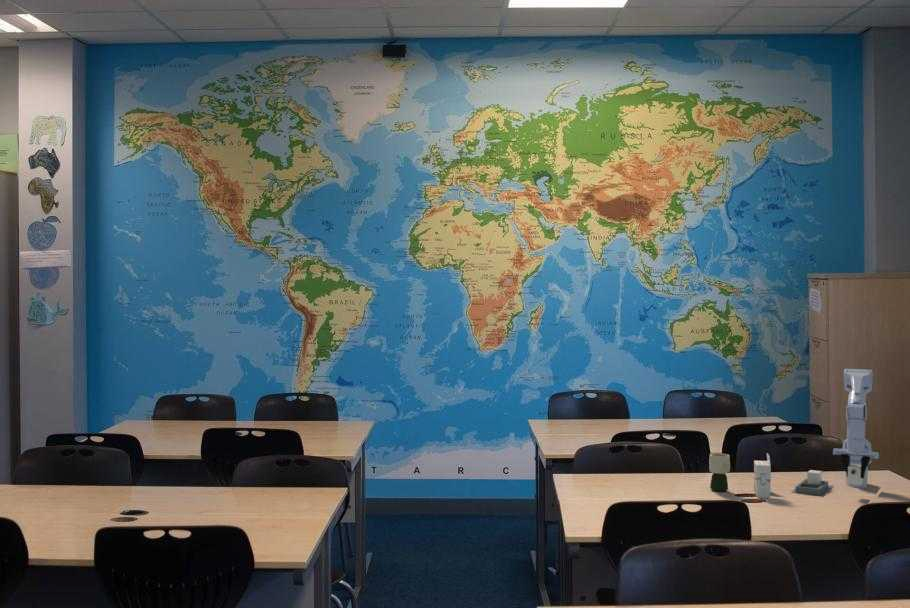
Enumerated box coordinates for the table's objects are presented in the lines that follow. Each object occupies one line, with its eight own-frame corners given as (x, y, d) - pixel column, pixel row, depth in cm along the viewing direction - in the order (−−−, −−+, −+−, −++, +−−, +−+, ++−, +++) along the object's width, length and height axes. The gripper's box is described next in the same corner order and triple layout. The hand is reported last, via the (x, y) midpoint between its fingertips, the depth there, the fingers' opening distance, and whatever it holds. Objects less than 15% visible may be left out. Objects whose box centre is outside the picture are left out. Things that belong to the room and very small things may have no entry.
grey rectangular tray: (803, 484, 340) (803, 476, 340) (834, 488, 334) (834, 480, 334) (790, 495, 324) (790, 486, 324) (823, 499, 318) (823, 490, 318)
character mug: (737, 492, 327) (737, 456, 327) (721, 494, 324) (721, 458, 324) (717, 486, 337) (717, 451, 337) (701, 488, 334) (702, 453, 334)
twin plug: (811, 484, 336) (811, 468, 336) (822, 486, 334) (823, 470, 334) (807, 488, 330) (807, 472, 330) (818, 490, 328) (818, 473, 328)
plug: (850, 480, 320) (850, 463, 319) (862, 482, 317) (862, 465, 317) (846, 484, 313) (846, 467, 313) (858, 486, 311) (859, 468, 311)
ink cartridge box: (753, 492, 328) (753, 451, 328) (767, 493, 327) (767, 452, 327) (756, 497, 320) (756, 456, 319) (770, 498, 319) (771, 456, 318)
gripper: (831, 437, 317) (830, 476, 317) (876, 442, 309) (876, 481, 309) (835, 435, 323) (834, 473, 323) (879, 439, 315) (879, 478, 315)
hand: (855, 477), depth 316 cm, fingers closed on plug, 4 cm apart
